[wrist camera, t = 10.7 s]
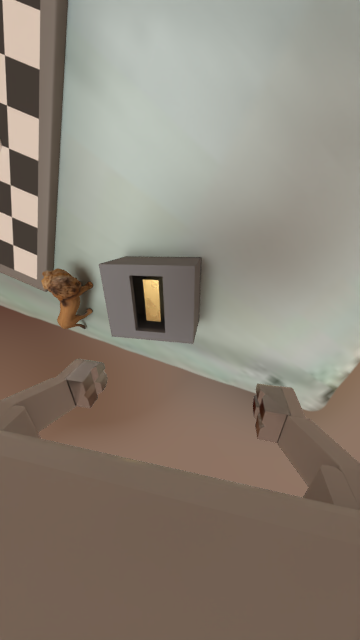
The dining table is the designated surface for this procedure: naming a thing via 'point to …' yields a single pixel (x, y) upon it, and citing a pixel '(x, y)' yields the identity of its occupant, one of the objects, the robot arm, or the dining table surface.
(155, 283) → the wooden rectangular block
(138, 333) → the money box
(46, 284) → the lion figurine
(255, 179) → the dining table surface
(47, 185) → the chess set
